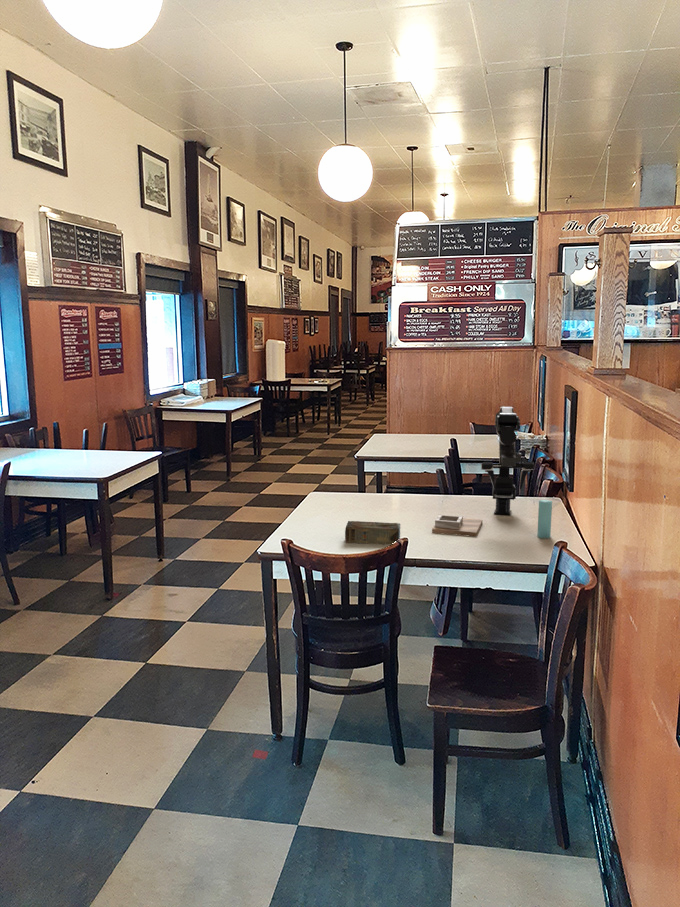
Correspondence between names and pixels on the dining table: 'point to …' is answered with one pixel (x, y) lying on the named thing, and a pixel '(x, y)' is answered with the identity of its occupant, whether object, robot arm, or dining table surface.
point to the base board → (456, 525)
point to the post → (544, 519)
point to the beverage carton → (372, 532)
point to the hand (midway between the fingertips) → (507, 489)
